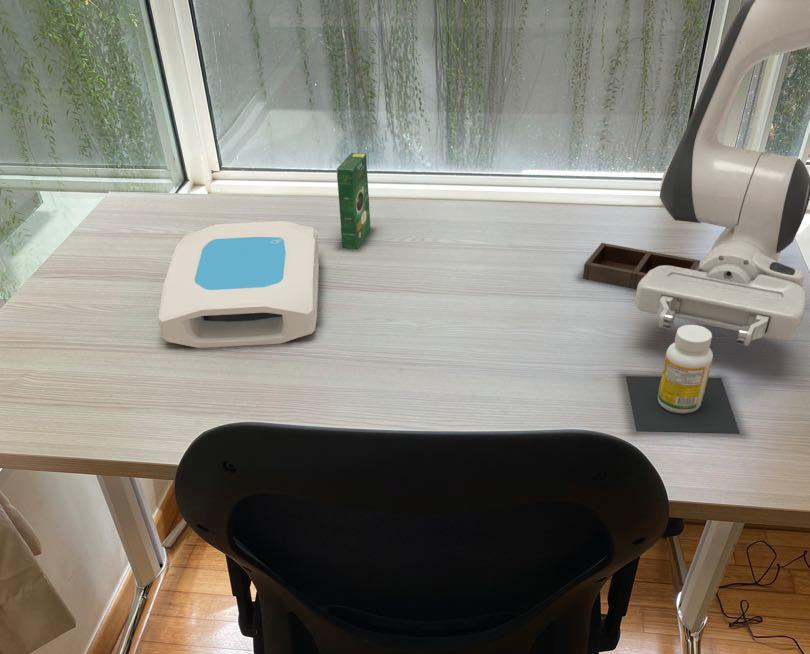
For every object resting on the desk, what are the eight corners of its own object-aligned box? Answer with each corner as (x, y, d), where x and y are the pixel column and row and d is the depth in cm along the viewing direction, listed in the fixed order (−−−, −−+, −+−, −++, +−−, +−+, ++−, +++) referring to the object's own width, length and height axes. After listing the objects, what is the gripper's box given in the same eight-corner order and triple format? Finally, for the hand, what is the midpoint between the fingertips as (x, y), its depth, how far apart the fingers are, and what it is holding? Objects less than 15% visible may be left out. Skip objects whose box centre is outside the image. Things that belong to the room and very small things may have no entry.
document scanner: (164, 352, 121) (154, 311, 117) (189, 262, 142) (182, 224, 138) (316, 343, 122) (311, 302, 117) (319, 255, 142) (315, 217, 138)
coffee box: (355, 230, 149) (350, 150, 140) (371, 231, 149) (367, 151, 140) (341, 250, 143) (334, 168, 135) (357, 251, 143) (352, 170, 134)
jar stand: (697, 277, 133) (700, 260, 131) (683, 301, 128) (686, 283, 126) (599, 259, 138) (601, 242, 136) (582, 281, 133) (584, 263, 131)
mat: (720, 380, 112) (721, 377, 112) (738, 436, 103) (739, 432, 103) (625, 379, 113) (625, 375, 113) (635, 434, 104) (636, 430, 104)
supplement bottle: (683, 420, 105) (699, 350, 99) (647, 401, 108) (660, 332, 102) (710, 403, 108) (727, 333, 101) (674, 385, 111) (689, 316, 104)
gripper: (655, 245, 116) (623, 289, 107) (817, 274, 109) (797, 324, 100) (648, 289, 120) (616, 335, 111) (803, 320, 113) (783, 372, 104)
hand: (703, 330), depth 106 cm, fingers open, 8 cm apart
